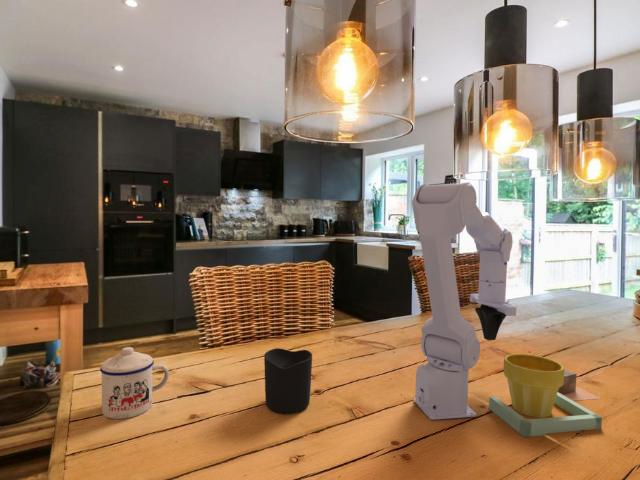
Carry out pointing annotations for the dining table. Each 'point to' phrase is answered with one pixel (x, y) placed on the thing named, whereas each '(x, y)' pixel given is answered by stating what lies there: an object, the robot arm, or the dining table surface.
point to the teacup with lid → (128, 384)
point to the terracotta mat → (580, 395)
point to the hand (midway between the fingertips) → (489, 339)
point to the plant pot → (533, 383)
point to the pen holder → (287, 380)
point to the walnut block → (568, 383)
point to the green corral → (541, 426)
